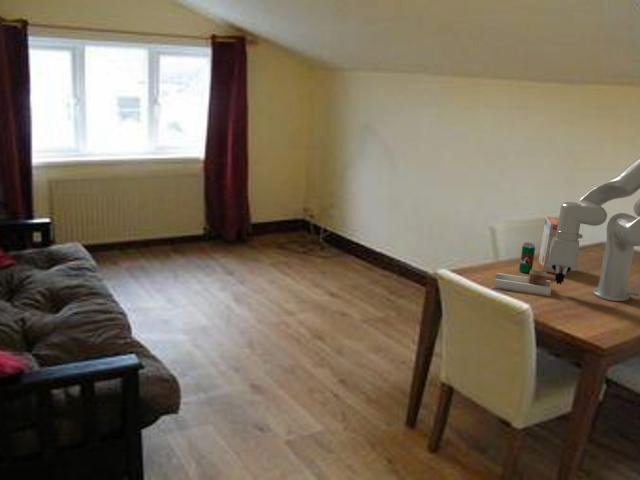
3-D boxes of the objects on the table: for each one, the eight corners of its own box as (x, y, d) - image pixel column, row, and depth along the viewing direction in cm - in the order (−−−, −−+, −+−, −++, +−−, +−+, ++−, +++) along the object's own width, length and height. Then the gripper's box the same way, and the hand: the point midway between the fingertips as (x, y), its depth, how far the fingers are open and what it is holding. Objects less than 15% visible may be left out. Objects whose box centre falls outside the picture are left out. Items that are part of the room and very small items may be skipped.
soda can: (534, 273, 255) (538, 245, 251) (524, 274, 253) (528, 246, 249) (526, 269, 259) (530, 241, 256) (516, 270, 257) (520, 242, 254)
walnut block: (544, 286, 236) (546, 272, 234) (544, 291, 231) (547, 276, 229) (527, 284, 238) (530, 269, 236) (527, 289, 233) (530, 274, 231)
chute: (549, 288, 237) (550, 280, 236) (549, 296, 229) (551, 288, 228) (495, 280, 243) (496, 272, 242) (494, 287, 235) (495, 279, 234)
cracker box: (557, 273, 255) (565, 225, 250) (542, 272, 256) (550, 223, 251) (552, 263, 269) (560, 217, 263) (537, 262, 270) (545, 215, 264)
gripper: (587, 236, 227) (579, 283, 232) (545, 230, 232) (537, 276, 237) (589, 241, 221) (580, 289, 226) (545, 235, 225) (537, 283, 230)
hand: (558, 282), depth 231 cm, fingers closed
